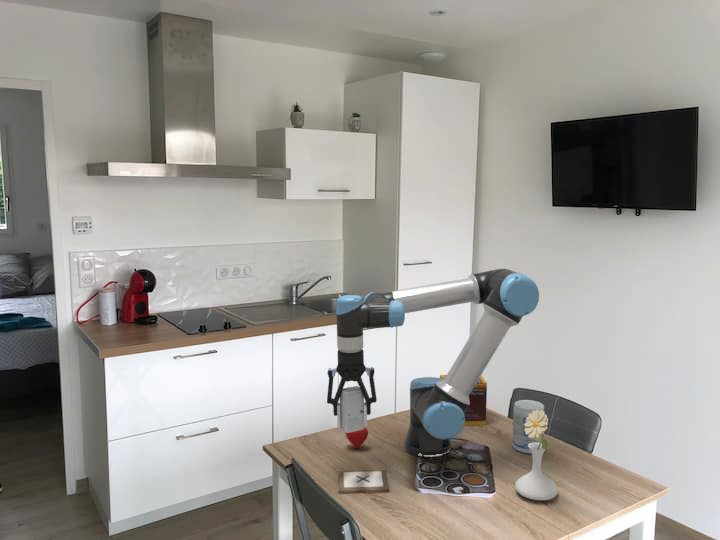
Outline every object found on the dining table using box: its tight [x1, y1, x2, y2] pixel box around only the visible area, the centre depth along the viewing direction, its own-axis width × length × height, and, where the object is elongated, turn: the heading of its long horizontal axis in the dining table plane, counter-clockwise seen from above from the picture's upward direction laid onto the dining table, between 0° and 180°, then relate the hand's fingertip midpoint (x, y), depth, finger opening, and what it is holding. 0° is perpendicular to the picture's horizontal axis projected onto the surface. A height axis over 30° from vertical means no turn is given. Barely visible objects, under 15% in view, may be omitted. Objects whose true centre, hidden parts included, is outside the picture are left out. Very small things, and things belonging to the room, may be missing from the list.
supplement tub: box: [511, 399, 545, 454], centre depth 193 cm, size 10×10×15 cm
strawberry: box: [345, 426, 369, 449], centre depth 194 cm, size 6×8×10 cm
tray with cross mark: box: [338, 469, 390, 494], centre depth 172 cm, size 14×12×1 cm
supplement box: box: [439, 374, 488, 426], centre depth 217 cm, size 10×15×16 cm
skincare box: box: [339, 385, 365, 434], centre depth 175 cm, size 6×4×12 cm
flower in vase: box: [514, 410, 559, 501], centre depth 162 cm, size 13×11×25 cm
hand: (352, 425), depth 176 cm, fingers closed on skincare box, 7 cm apart
